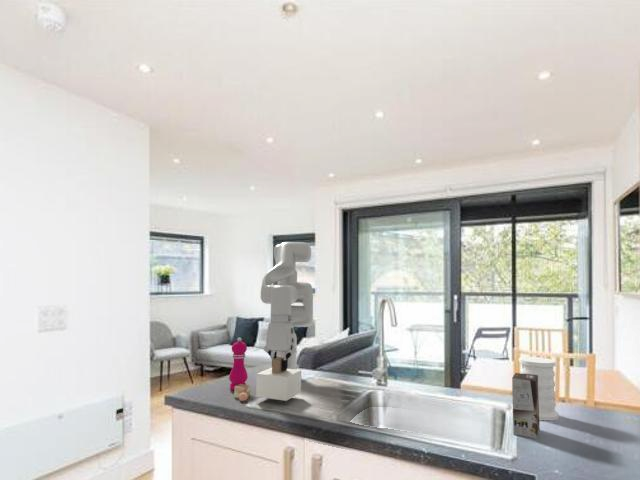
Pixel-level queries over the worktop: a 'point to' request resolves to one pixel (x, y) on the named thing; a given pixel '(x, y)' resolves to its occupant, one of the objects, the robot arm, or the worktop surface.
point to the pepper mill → (238, 364)
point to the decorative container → (542, 384)
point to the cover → (278, 382)
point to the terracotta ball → (243, 396)
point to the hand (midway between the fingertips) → (279, 369)
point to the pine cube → (241, 390)
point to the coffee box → (525, 405)
